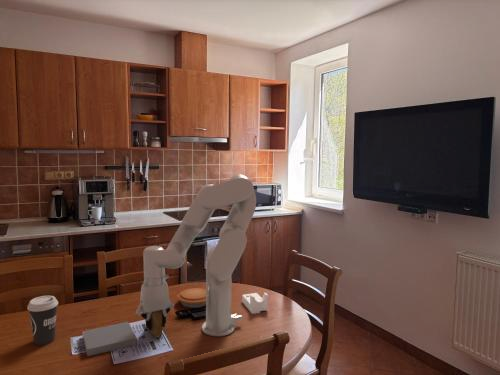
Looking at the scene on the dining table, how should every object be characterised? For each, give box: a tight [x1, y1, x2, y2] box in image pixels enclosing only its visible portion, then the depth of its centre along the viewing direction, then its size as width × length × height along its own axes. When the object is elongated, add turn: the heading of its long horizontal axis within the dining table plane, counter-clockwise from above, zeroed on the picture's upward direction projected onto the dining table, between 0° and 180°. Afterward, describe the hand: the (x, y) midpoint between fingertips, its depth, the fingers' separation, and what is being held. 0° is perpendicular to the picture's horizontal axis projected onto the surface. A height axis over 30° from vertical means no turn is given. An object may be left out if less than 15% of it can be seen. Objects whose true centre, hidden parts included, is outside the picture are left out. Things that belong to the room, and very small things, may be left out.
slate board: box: [82, 321, 138, 357], centre depth 133 cm, size 16×14×2 cm
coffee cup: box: [27, 295, 59, 346], centre depth 132 cm, size 10×10×15 cm
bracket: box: [241, 292, 269, 315], centre depth 164 cm, size 13×7×8 cm, turn 20°
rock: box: [149, 310, 163, 338], centre depth 139 cm, size 11×9×10 cm
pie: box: [176, 287, 206, 309], centre depth 167 cm, size 15×16×5 cm
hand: (156, 326), depth 140 cm, fingers closed on rock, 4 cm apart
